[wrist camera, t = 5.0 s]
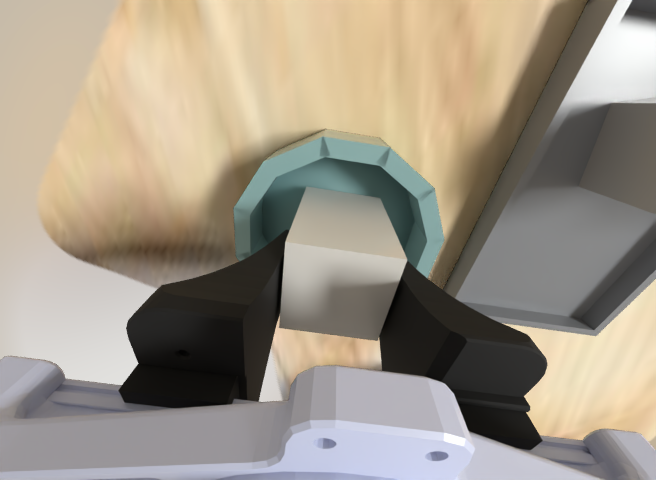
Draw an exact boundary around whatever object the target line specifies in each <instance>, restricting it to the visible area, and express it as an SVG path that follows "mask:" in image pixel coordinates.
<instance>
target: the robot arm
mask: <svg viewBox="0 0 656 480" xmlns="http://www.w3.org/2000/svg"><path fill="white" fill-rule="evenodd" d="M289 231H290V230H285V231H283V232H282V233H281V234H280V235H279V236H277V237H276V238H275V239H274V240H273V241H271V242H270V243H269V244H267V245H266V246H265V247H263V248H262V249H260V250H259V251H257V252H256V253H254V254H253V255H251V256H249V257H247V258H246V259H244V260H242V261H240V262H238V263H235V264H233V265H231V266H228V267H226V268H223V269H221V270H218V271H216V272H213V273H210V274H207V275H203V276H200V277H196V278H193V279H189V280H184V281H180V282H175V283H170V284H166V285H162V286H161V287H160V288H158V289H157V290H156V291H155V293H153V294H152V295H151V296H150V297H149V298H148V300H147V301H146V302H145V303H144V304H143V305H142V306H141V307H140V308H139V309H138V310H137V311H136V312H135V313H134V314H133V316H132V317H131V318H130V319H129V320H128V323H127V327H126V329H127V334H128V338H129V341H130V343H131V346H132V348H133V351H134V353H135V356H136V358H137V361H138V363H139V364H138V365H137V366H136V368H135V369H134V370H133V372H132V373H131V374H130V376H129V377H128V378H127V380H126V381H125V382H124V383H123V385H113V384H106V383H97V382H89V381H80V380H72V379H65V375H64V373H63V371H62V369H61V368H60V367H59V366H58V365H57V364H55V363H53V362H50V361H46V360H40V359H32V358H23V357H15V356H6V357H4V358H3V359H1V360H0V480H656V450H655V449H654V448H653V447H652V446H651V444H650V443H649V442H648V441H647V440H646V439H645V438H644V437H643V436H642V434H639V433H637V432H630V431H622V430H614V429H599V430H595V431H593V432H591V433H589V434H588V435H587V436H586V437H584V439H583V441H582V440H574V439H566V438H557V437H549V436H541V435H539V433H538V432H537V430H536V428H535V427H534V425H533V423H532V422H531V420H530V418H529V417H528V415H527V413H526V412H528V411H530V406H529V404H528V402H527V401H526V399H525V398H524V396H525V395H526V394H527V393H528V392H529V391H530V390H531V389H532V388H533V387H534V386H535V385H536V384H537V383H538V382H539V381H540V379H541V378H542V377H543V376H544V374H545V371H546V368H547V360H546V358H545V356H544V355H543V354H542V352H541V351H540V350H539V349H538V347H537V346H536V345H535V343H534V342H533V341H532V340H531V338H530V337H529V336H528V335H527V334H525V333H522V332H520V331H518V330H515V329H513V328H511V327H509V326H506V325H504V324H502V323H499V322H497V321H495V320H493V319H491V318H489V317H487V316H485V315H483V314H481V313H479V312H478V311H476V310H474V309H472V308H470V307H468V306H467V305H465V304H463V303H462V302H460V301H459V300H457V299H455V298H454V297H452V296H451V295H449V294H448V293H446V292H445V291H443V290H442V289H441V288H439V287H438V286H436V285H435V284H434V283H432V282H431V281H430V280H429V279H427V278H426V277H425V276H424V275H423V274H422V273H420V272H419V271H418V270H417V269H416V268H415V267H414V266H413V265H412V264H411V263H410V262H409V261H407V262H406V265H405V268H404V270H403V273H402V276H401V278H400V281H399V284H398V287H397V289H396V292H395V295H394V297H393V300H392V303H391V306H390V308H389V311H388V314H387V316H386V319H385V322H384V325H383V327H382V330H381V333H380V335H379V339H380V349H381V360H382V371H377V370H369V369H362V368H354V367H346V366H338V365H328V366H315V367H313V368H310V369H308V370H306V371H303V372H301V373H300V374H298V375H297V377H296V378H295V380H294V381H293V383H292V385H291V388H290V394H289V400H285V401H272V402H259V397H260V392H261V388H262V383H263V379H264V375H265V370H266V366H267V361H268V357H269V353H270V349H271V345H272V341H273V336H274V332H275V328H276V324H277V321H278V318H279V315H280V310H281V296H282V282H283V268H284V253H285V241H286V239H287V236H288V234H289Z"/></svg>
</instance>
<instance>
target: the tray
mask: <svg viewBox="0 0 656 480" xmlns="http://www.w3.org/2000/svg"><path fill="white" fill-rule="evenodd" d="M648 98H656V0H588V2H587V4H586V6H585V8H584V10H583V12H582V14H581V16H580V18H579V20H578V22H577V24H576V26H575V28H574V30H573V32H572V34H571V36H570V38H569V40H568V42H567V44H566V46H565V48H564V50H563V52H562V54H561V56H560V58H559V60H558V62H557V64H556V66H555V68H554V70H553V72H552V74H551V76H550V78H549V80H548V82H547V84H546V86H545V88H544V90H543V92H542V94H541V96H540V98H539V100H538V102H537V104H536V106H535V108H534V110H533V112H532V114H531V116H530V118H529V120H528V122H527V124H526V126H525V128H524V130H523V132H522V134H521V136H520V138H519V140H518V142H517V144H516V146H515V148H514V150H513V152H512V154H511V156H510V158H509V160H508V162H507V164H506V166H505V168H504V170H503V172H502V174H501V176H500V178H499V180H498V182H497V184H496V186H495V188H494V190H493V192H492V194H491V196H490V198H489V200H488V202H487V204H486V206H485V208H484V210H483V212H482V214H481V216H480V218H479V220H478V222H477V224H476V226H475V228H474V230H473V232H472V233H471V235H470V237H469V239H468V241H467V243H466V245H465V247H464V249H463V251H462V253H461V255H460V257H459V259H458V261H457V263H456V265H455V267H454V269H453V271H452V273H451V275H450V277H449V279H448V281H447V283H446V285H445V287H444V289H443V291H445V292H446V293H448V294H449V295H451V296H452V297H454V298H455V299H457V300H459V301H460V302H462V303H463V304H465V305H467V306H468V307H470V308H472V309H474V310H476V311H478V312H479V313H481V314H483V315H485V316H487V317H489V318H491V319H493V320H495V321H497V322H499V323H505V324H512V325H520V326H527V327H534V328H542V329H549V330H556V331H563V332H571V333H578V334H585V335H592V336H597V335H598V334H599V333H600V332H601V331H602V330H603V329H604V328H605V327H606V326H607V325H608V324H609V323H610V322H611V321H612V320H613V319H614V318H615V317H616V316H617V315H618V314H620V313H621V312H622V311H623V310H624V309H625V308H626V307H627V306H628V305H629V304H630V303H631V302H632V301H633V300H634V299H635V298H636V297H637V296H638V295H639V294H640V293H641V292H642V291H643V290H645V289H646V288H647V287H648V286H649V285H650V284H651V283H652V282H653V281H654V280H655V279H656V214H653V213H650V212H647V211H645V210H642V209H639V208H636V207H634V206H631V205H628V204H625V203H623V202H620V201H617V200H614V199H611V198H609V197H606V196H603V195H600V194H598V193H595V192H592V191H589V190H586V189H584V188H581V187H578V186H579V184H580V181H581V178H582V176H583V173H584V171H585V168H586V166H587V163H588V161H589V158H590V156H591V153H592V151H593V148H594V146H595V143H596V141H597V138H598V136H599V133H600V131H601V128H602V126H603V123H604V120H605V118H606V115H607V113H608V110H609V108H610V105H611V103H615V102H623V101H631V100H639V99H648Z"/></svg>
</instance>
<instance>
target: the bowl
mask: <svg viewBox="0 0 656 480" xmlns="http://www.w3.org/2000/svg"><path fill="white" fill-rule="evenodd" d="M306 187H313V188H319V189H326V190H332V191H339V192H345V193H352V194H358V195H365V196H371V197H378V198H380V199H381V201H382V203H383V206H384V208H385V210H386V212H387V215H388V217H389V219H390V221H391V224H392V226H393V228H394V230H395V233H396V235H397V237H398V239H399V242H400V244H401V246H402V249H403V251H404V253H405V255H406V258H407V261H409V262H410V263H411V264H412V265H413V266H414V267H415V268H416V269H417V270H418V271H419V272H420V273H422V274H423V275H424V276H425V277H426V278H428V276H429V273H430V271H431V269H432V267H433V264H434V262H435V260H436V258H437V255H438V253H439V251H440V249H441V246H442V244H443V242H444V240H445V239H444V236H443V230H442V225H441V220H440V215H439V209H438V204H437V199H436V194H435V188H434V187H433V186H431V185H430V184H429V183H428V182H427V181H426V180H425V179H424V178H423V177H422V176H421V175H420V174H418V173H417V172H416V171H415V170H414V169H413V168H412V167H410V166H409V165H408V164H407V163H406V162H405V161H404V160H403V159H402V158H401V157H400V156H399V155H398V154H396V153H395V152H394V151H393V150H392V149H391V147H389V146H388V145H387V144H386V143H385V142H384V141H383V140H382V139H381V138H378V137H371V136H365V135H359V134H353V133H347V132H341V131H335V130H329V129H325V130H323V131H321V132H318V133H316V134H314V135H311V136H309V137H307V138H304V139H302V140H300V141H297V142H295V143H293V144H290V145H288V146H286V147H283V148H281V149H279V150H277V151H276V152H274V153H273V154H272V155H271V156H269V157H268V158H267V159H266V160H264V161H263V163H262V164H261V166H260V168H259V169H258V171H257V172H256V174H255V175H254V177H253V179H252V180H251V182H250V183H249V185H248V186H247V188H246V190H245V191H244V193H243V194H242V196H241V197H240V199H239V200H238V202H237V204H236V205H235V207H234V208H233V210H234V230H235V249H236V257H237V259H238V260H239V262H240V261H242V260H244V259H246V258H247V257H249V256H251V255H253V254H254V253H256V252H257V251H259V250H260V249H262V248H263V247H265V246H266V245H267V244H269V243H270V242H271V241H273V240H274V239H275V238H276V237H277V236H279V235H280V234H281V233H282V232H283V231H285V230H290V228H291V226H292V223H293V221H294V218H295V215H296V213H297V210H298V208H299V205H300V202H301V200H302V197H303V195H304V192H305V190H306Z"/></svg>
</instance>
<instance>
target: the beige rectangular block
mask: <svg viewBox="0 0 656 480" xmlns="http://www.w3.org/2000/svg"><path fill="white" fill-rule="evenodd" d="M406 262H407V258H406V255H405V253H404V251H403V249H402V246H401V244H400V242H399V239H398V237H397V235H396V233H395V230H394V228H393V226H392V224H391V221H390V219H389V217H388V215H387V212H386V210H385V208H384V206H383V203H382V201H381V199H380V198H378V197H371V196H365V195H358V194H352V193H345V192H339V191H332V190H326V189H319V188H313V187H306V190H305V192H304V195H303V197H302V200H301V202H300V205H299V208H298V210H297V213H296V215H295V218H294V221H293V223H292V226H291V228H290V231H289V234H288V236H287V239H286V241H285V253H284V268H283V282H282V296H281V310H280V325H279V328H284V329H292V330H300V331H307V332H315V333H322V334H330V335H338V336H345V337H353V338H360V339H368V340H376V341H378V338H379V335H380V333H381V330H382V327H383V325H384V322H385V319H386V316H387V314H388V311H389V308H390V306H391V303H392V300H393V297H394V295H395V292H396V289H397V287H398V284H399V281H400V278H401V276H402V273H403V270H404V268H405V265H406Z"/></svg>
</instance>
